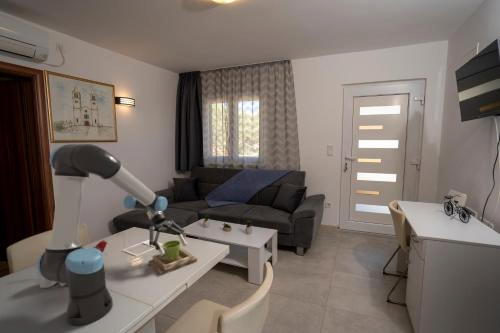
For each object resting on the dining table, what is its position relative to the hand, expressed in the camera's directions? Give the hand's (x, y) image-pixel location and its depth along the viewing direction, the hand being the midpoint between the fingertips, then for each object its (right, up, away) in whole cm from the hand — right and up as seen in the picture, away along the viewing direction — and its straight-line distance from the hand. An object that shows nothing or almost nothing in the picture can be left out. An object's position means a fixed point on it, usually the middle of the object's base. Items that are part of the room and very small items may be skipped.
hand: (174, 249), depth 132 cm
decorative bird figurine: (-47, -9, +6) cm, 49 cm away
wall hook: (-49, -11, -16) cm, 53 cm away
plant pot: (-2, -6, +2) cm, 7 cm away
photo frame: (-26, -7, +22) cm, 35 cm away
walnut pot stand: (-2, -7, +2) cm, 8 cm away
